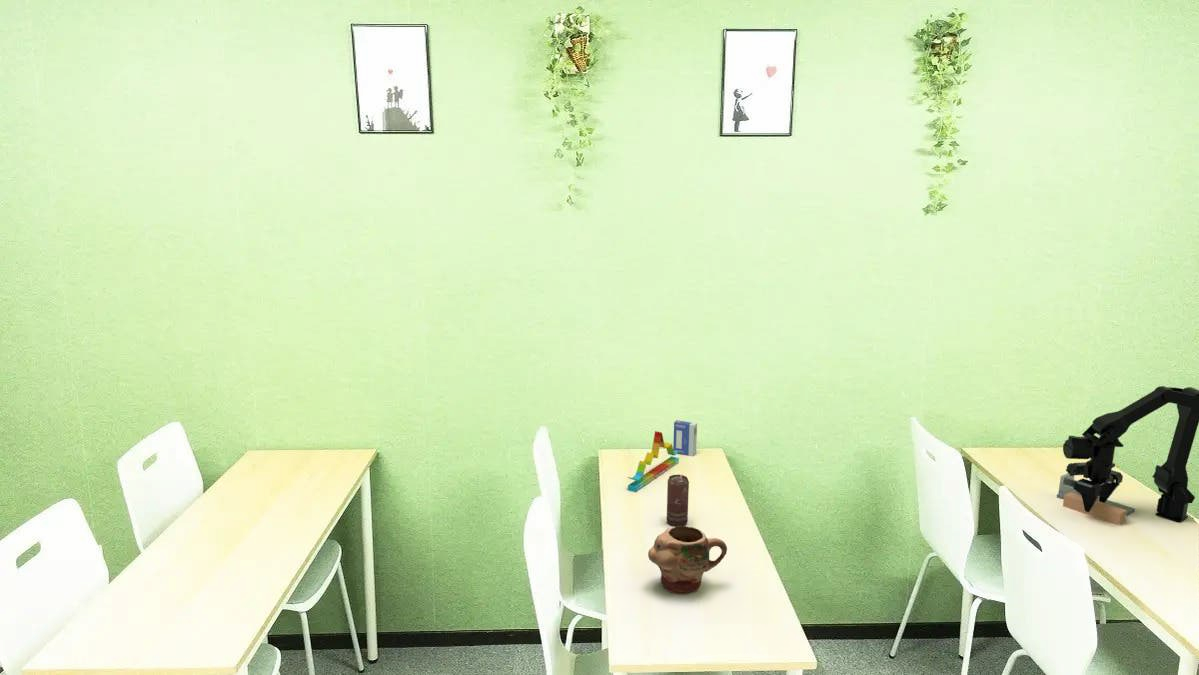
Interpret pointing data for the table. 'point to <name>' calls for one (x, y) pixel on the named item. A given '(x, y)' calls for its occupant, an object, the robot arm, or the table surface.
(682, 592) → the brown sculpted mug
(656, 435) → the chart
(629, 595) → the table surface
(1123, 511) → the rail
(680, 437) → the walkman
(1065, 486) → the bracket
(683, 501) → the can
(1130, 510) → the board
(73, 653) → the table surface
